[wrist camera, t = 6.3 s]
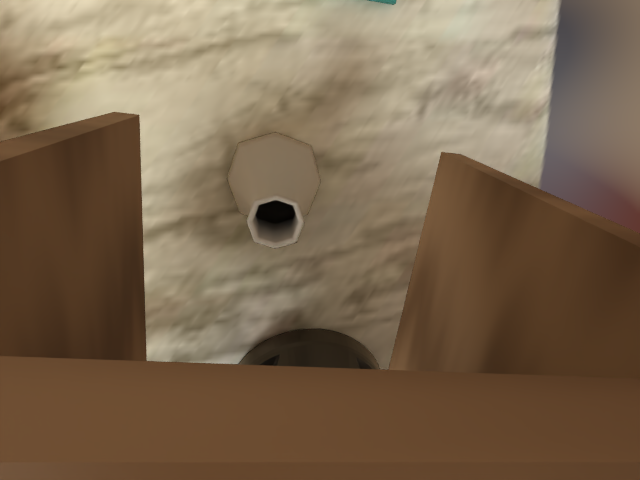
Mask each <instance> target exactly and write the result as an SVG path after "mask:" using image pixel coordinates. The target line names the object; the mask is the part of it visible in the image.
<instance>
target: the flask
mask: <svg viewBox="0 0 640 480" xmlns="http://www.w3.org/2000/svg"><path fill="white" fill-rule="evenodd" d="M227 180H228V183H229V186H230V188H231V191H232V194H233V196H234V199H235V202H236V204H237V207H238V210H239V213H241V214H244V215H247V216H248V218H247V224H248V227H249V230H250V232H251V235H252V238H253V240H254V242H256V243H259V244H262V245H265V246H268V247H272V248H275V249H276V248H280V247H283V246H286V245H290V244H293V243H297V240H298V238H299V235H300V233H301V230H302V228H303V225H304V223H305V221H304V218H303V216H305V215H307V214H308V213H309V210H310V208H311V205H312V203H313V200H314V198H315V195H316V193H317V190H318V188H319V185H320V183H321V179H320V176H319V172H318V169H317V165H316V161H315V158H314V154H313V150H312V147H311V146H310V145H308V144H305V143H303V142H300V141H297V140H295V139H292V138H290V137H287V136H284V135H282V134H279V133H277V132H274V133H270V134H267V135H264V136H260V137H257V138H253V139H250V140H247V141H243V142H240V143H238V145H237V149H236V152H235V155H234V158H233V161H232V164H231V167H230V170H229V174H228V177H227Z"/></svg>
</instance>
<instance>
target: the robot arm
mask: <svg viewBox="0 0 640 480" xmlns="http://www.w3.org/2000/svg"><path fill="white" fill-rule="evenodd" d="M239 365H267V366H295V367H324V368H352V369H380V368H379V366H378V363H377V361H376V360H375V358H374V357H373V355H372V354H371V353H370V352H369V351H368V350H367V349H366V348H365V347H364V346H363V345H362V344H360V343H359V342H357V341H356V340H354V339H352V338H351V337H348V336H346V335H344V334H341V333H338V332H334V331H329V330H322V329H303V330H296V331H291V332H286V333H283V334H280V335H277V336H275V337H272V338H270V339H268V340H266V341H264V342H263V343H261V344H260V345H258V346H257V347H255V348H254V349H253V350H251V351H250V352H249V353H248V354H247V355H246V356H245V357H244V358H243V359H242V361H241V362H240V363H239Z"/></svg>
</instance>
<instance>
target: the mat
mask: <svg viewBox="0 0 640 480" xmlns="http://www.w3.org/2000/svg"><path fill="white" fill-rule="evenodd" d="M369 1H375V2H380V3H386V4H392V5H394V4H395V3H396V0H369Z"/></svg>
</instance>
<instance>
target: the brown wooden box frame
mask: <svg viewBox="0 0 640 480" xmlns="http://www.w3.org/2000/svg"><path fill="white" fill-rule="evenodd" d="M0 480H640V233H637V232H635V231H633V230H631V229H628V228H626V227H624V226H622V225H619V224H617V223H614V222H612V221H610V220H608V219H606V218H604V217H601V216H599V215H597V214H594V213H592V212H590V211H588V210H585V209H583V208H581V207H579V206H576V205H574V204H572V203H570V202H567V201H565V200H563V199H561V198H558V197H556V196H554V195H551V194H549V193H547V192H545V191H542V190H540V189H538V188H536V187H533V186H531V185H529V184H527V183H524V182H522V181H520V180H518V179H515V178H513V177H511V176H509V175H506V174H504V173H502V172H499V171H497V170H495V169H493V168H490V167H488V166H486V165H484V164H481V163H479V162H477V161H475V160H472V159H470V158H468V157H466V156H463V155H461V154H453V153H445V152H441V156H440V160H439V164H438V168H437V172H436V177H435V181H434V185H433V189H432V193H431V197H430V201H429V205H428V209H427V213H426V218H425V222H424V226H423V230H422V234H421V238H420V242H419V246H418V250H417V254H416V259H415V263H414V267H413V271H412V275H411V279H410V283H409V287H408V291H407V295H406V300H405V304H404V308H403V312H402V316H401V320H400V324H399V328H398V332H397V336H396V340H395V345H394V349H393V353H392V357H391V361H390V365H389V369H388V370H380V369H352V368H324V367H295V366H267V365H239V364H211V363H183V362H154V361H147V360H146V326H145V292H144V258H143V225H142V191H141V157H140V123H139V115H135V114H127V113H119V112H112V113H108V114H105V115H101V116H97V117H93V118H89V119H85V120H81V121H78V122H74V123H70V124H66V125H62V126H58V127H55V128H51V129H47V130H43V131H39V132H35V133H32V134H28V135H24V136H20V137H16V138H12V139H9V140H5V141H1V142H0Z"/></svg>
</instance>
